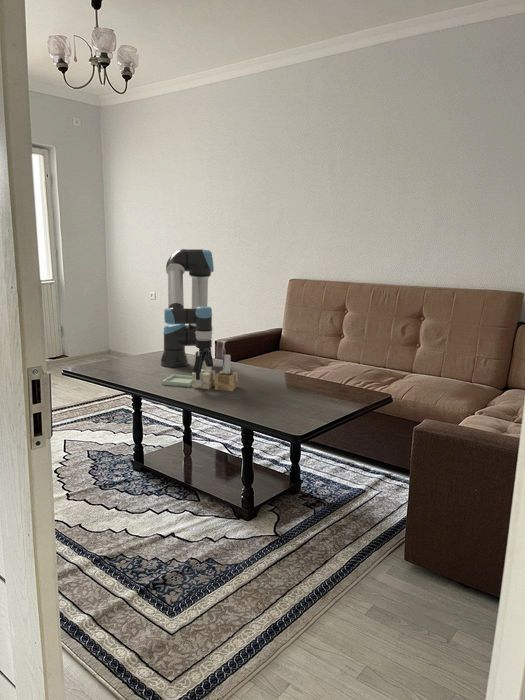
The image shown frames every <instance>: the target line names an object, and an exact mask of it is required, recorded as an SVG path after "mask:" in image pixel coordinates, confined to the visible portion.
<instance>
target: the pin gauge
mask: <svg viewBox="0 0 525 700" xmlns="http://www.w3.org/2000/svg"><path fill="white" fill-rule="evenodd" d="M222 371H223V375H228V376H230V372H231V354H222Z"/></svg>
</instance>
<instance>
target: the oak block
mask: <svg viewBox="0 0 525 700" xmlns="http://www.w3.org/2000/svg"><path fill="white" fill-rule="evenodd" d="M238 374H239V373H238V372H236V371H230V376H228V375H223V370H220V371H218V372H217V373H215V385H214V390H215V391H216V390H218V391H225V392H228V391H229V392H233V391H234V390H235V389H236V388H238V379H239V378H238Z"/></svg>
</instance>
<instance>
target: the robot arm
mask: <svg viewBox="0 0 525 700" xmlns="http://www.w3.org/2000/svg"><path fill="white" fill-rule="evenodd" d="M214 269H215V268H214V260H213V254H212V251H211V250H210V249H204V248H203V249H201V248H200V249H197V248H196V249H195V248H194V249H189V248H188V249H186V248H182V249H178V250H176V251H174V253H172V254H171V255H170V256H169V258H168V260H167V261H166V265H165V272H166V274H167V287H168V288H167V293H168V294H167V295H168V297H167V299H168V300H167V303H168V307H167V308H165V309H164V312H163V314H164V317H163V318H164V323H165V325H164V326H163V353H162V356H161V359H160V366H162V367H167V368H181V367H182V368H183V367H185V366H188V365H189V359H188V356H187V353H186V348H185V347H195V348H197V349H198V350H199V352H198V350H196V352H195V353H196V359H194V360H195V361H194V366H193V372H194V373H196V386H199V387H201V386H202V373H201V369H202V365H203V362H204V361H205V363H206V370H212V367H214V360H213V356H212V355H213V354H212V347H213V346H212V345H213V344H212V343H213V340H212V339H213V323H212V322H213V319H212V317H213V311H212V307H210V306H208V299H209V298H208V296H209V295H208V293H209V290H208V289H209V277H211V276H212V273H214V271H215V270H214ZM185 272H188V274H189V277H191V308H184V307H185V305H184V303H185V302H184V274H185ZM193 372H192V373H193Z"/></svg>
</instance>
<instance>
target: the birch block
mask: <svg viewBox="0 0 525 700" xmlns="http://www.w3.org/2000/svg"><path fill="white" fill-rule="evenodd" d="M201 373H202V386H201V387H199V386H196V373H194V372H192V373H191V376H192V385H191V388H195V389H196V388H197V389H205V390H210V389H211V388H212V387H215V375H216V370H213V369H211V370H202V369H201Z"/></svg>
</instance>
